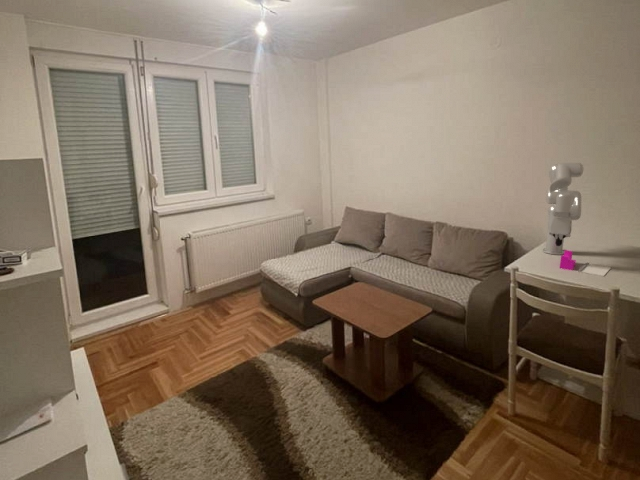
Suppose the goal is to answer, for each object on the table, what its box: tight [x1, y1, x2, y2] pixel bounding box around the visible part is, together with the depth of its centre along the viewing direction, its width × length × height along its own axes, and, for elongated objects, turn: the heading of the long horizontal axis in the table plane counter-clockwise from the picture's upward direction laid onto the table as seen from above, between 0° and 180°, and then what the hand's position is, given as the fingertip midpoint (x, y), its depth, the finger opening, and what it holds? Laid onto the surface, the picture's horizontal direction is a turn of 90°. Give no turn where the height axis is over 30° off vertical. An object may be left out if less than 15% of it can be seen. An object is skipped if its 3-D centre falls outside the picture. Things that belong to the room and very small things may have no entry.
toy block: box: [559, 250, 576, 271], centre depth 219 cm, size 15×6×8 cm, turn 140°
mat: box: [578, 262, 612, 277], centre depth 211 cm, size 18×12×1 cm, turn 133°
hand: (558, 245), depth 222 cm, fingers closed
